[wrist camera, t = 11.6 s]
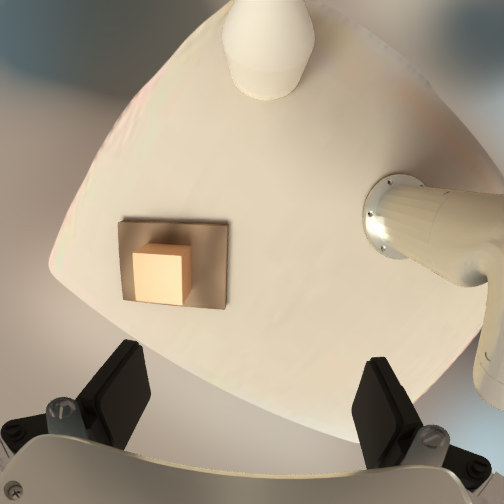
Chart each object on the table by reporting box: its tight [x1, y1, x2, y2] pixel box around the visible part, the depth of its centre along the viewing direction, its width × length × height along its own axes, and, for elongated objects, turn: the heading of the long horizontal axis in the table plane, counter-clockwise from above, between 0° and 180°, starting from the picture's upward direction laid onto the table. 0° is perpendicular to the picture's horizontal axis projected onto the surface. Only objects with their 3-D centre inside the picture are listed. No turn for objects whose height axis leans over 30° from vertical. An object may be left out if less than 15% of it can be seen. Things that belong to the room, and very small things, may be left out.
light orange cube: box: [133, 243, 192, 306], centre depth 37 cm, size 6×6×6 cm
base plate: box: [118, 221, 228, 310], centre depth 39 cm, size 16×12×5 cm
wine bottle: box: [222, 0, 315, 100], centre depth 20 cm, size 10×10×30 cm
